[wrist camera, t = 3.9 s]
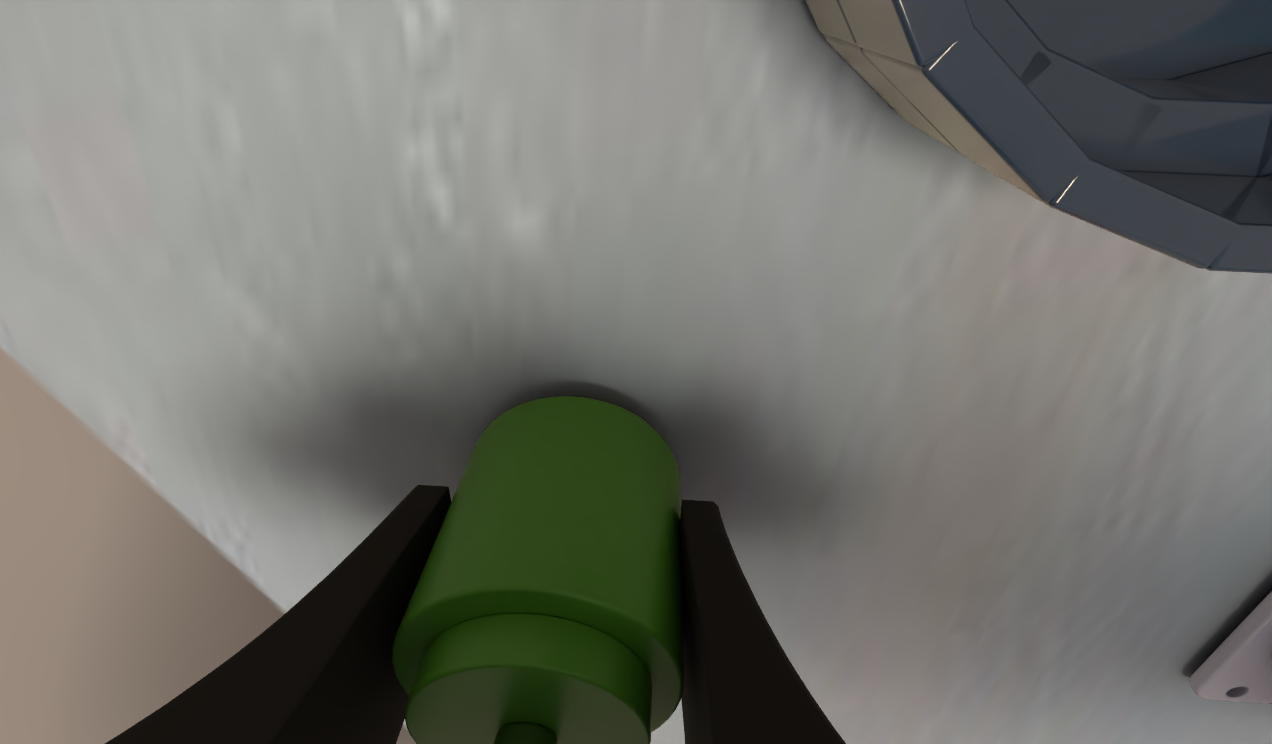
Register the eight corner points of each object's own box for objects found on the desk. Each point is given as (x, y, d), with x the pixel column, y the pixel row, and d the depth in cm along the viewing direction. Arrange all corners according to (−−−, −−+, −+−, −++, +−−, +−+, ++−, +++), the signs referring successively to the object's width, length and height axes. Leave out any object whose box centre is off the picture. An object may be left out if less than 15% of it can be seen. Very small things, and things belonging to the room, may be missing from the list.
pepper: (688, 400, 12) (703, 758, 6) (673, 555, 15) (674, 909, 9) (459, 388, 12) (281, 730, 7) (484, 544, 15) (370, 887, 9)
